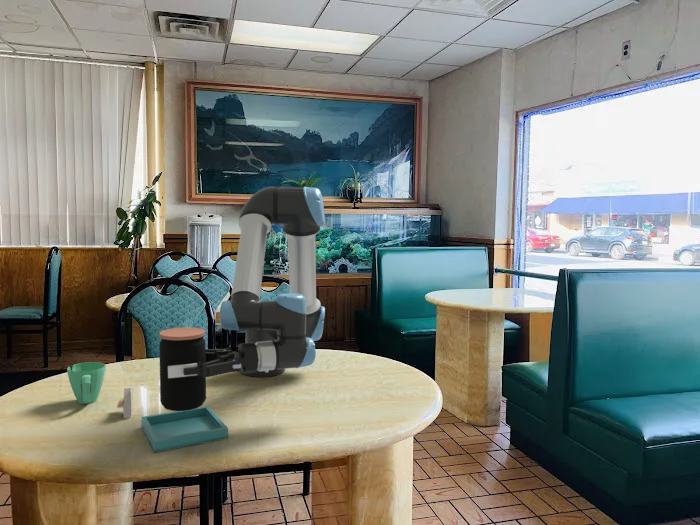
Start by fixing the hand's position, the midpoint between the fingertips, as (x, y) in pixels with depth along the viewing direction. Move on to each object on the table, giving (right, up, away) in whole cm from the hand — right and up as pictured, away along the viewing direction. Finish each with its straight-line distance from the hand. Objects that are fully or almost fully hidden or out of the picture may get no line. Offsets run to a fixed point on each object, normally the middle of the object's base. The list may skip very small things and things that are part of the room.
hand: (165, 365), depth 135 cm
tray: (+3, -17, +4) cm, 18 cm away
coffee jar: (+4, -10, +3) cm, 11 cm away
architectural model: (-15, -16, +16) cm, 27 cm away
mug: (-29, -15, +23) cm, 40 cm away
